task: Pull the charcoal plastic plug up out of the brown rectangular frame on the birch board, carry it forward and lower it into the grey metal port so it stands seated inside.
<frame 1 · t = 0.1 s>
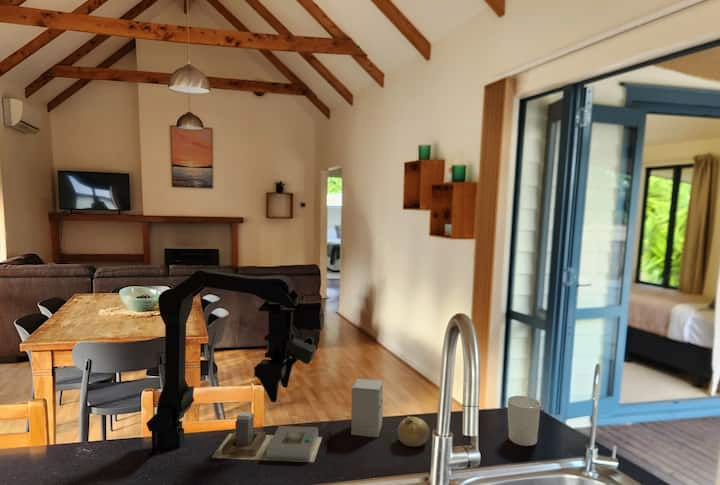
hand: (279, 394, 111), 14 cm above the kitchen counter, tool pointing down, fingers open, 9 cm apart
white cup: (522, 440, 120), on the kitchen counter
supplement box: (367, 430, 125), on the kitchen counter
plug: (244, 445, 114), point 1 cm above the kitchen counter, touching board
port: (293, 451, 113), resting on board
brown rectangular frame: (244, 449, 114), resting on board
onion: (413, 444, 118), on the kitchen counter
board: (269, 450, 113), on the kitchen counter
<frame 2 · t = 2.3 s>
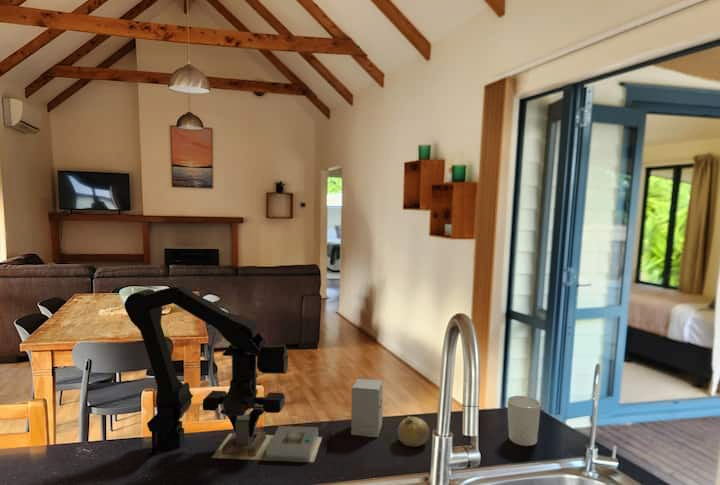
hand: (244, 435, 114), 4 cm above the kitchen counter, tool pointing down, fingers closed on plug, 3 cm apart
plug: (244, 445, 114), point 1 cm above the kitchen counter, touching board, gripper
everything else where it was.
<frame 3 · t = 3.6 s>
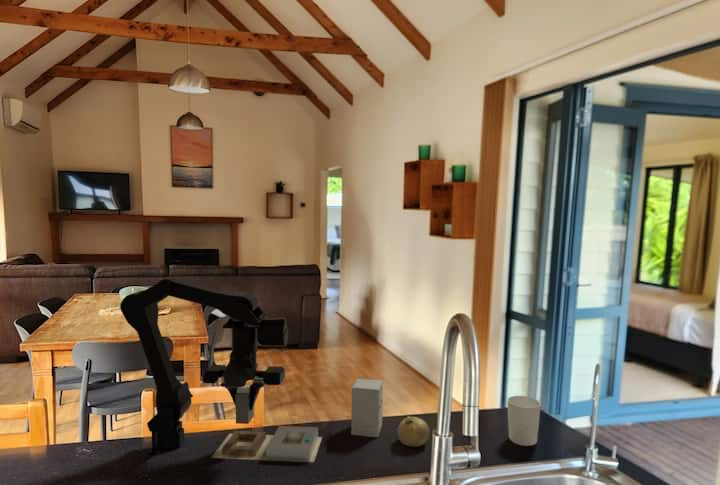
hand: (244, 409, 113), 10 cm above the kitchen counter, tool pointing down, fingers closed on plug, 3 cm apart
plug: (245, 419, 113), point 8 cm above the kitchen counter, touching gripper
everything else where it was.
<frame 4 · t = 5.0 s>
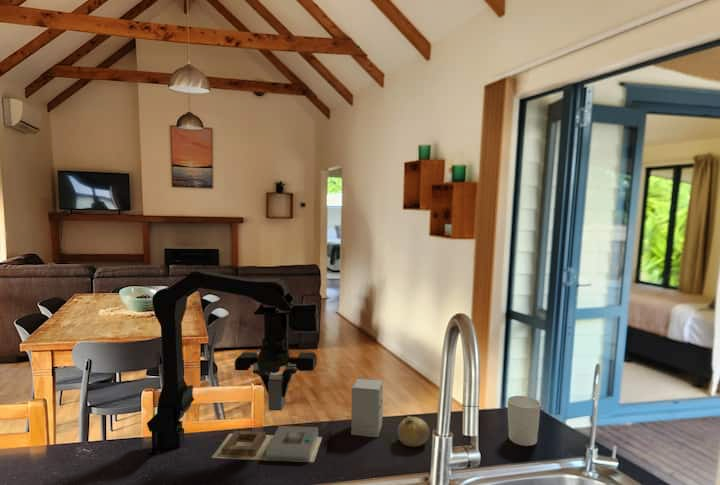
hand: (277, 396, 112), 14 cm above the kitchen counter, tool pointing down, fingers closed on plug, 3 cm apart
plug: (277, 406, 113), point 11 cm above the kitchen counter, touching gripper
everything else where it was.
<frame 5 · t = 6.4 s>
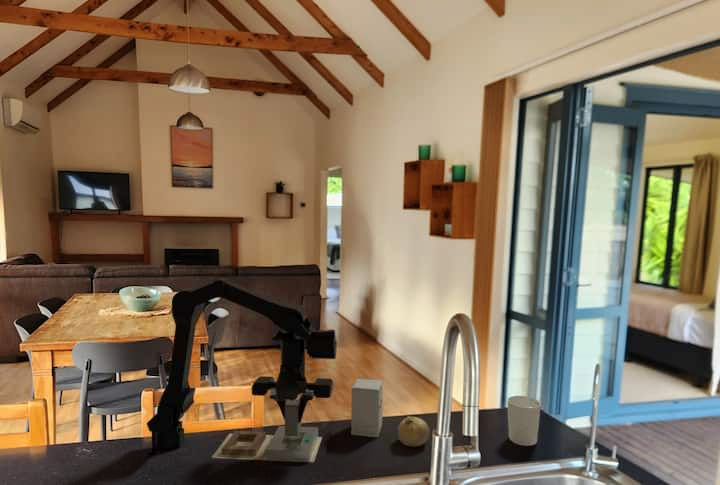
hand: (293, 421, 113), 7 cm above the kitchen counter, tool pointing down, fingers closed on plug, 3 cm apart
plug: (293, 431, 113), point 5 cm above the kitchen counter, touching gripper
everything else where it was.
when the fingers open (4 cm above the kitchen counter, at t = 7.6 s): plug drops 1 cm, resting on board.
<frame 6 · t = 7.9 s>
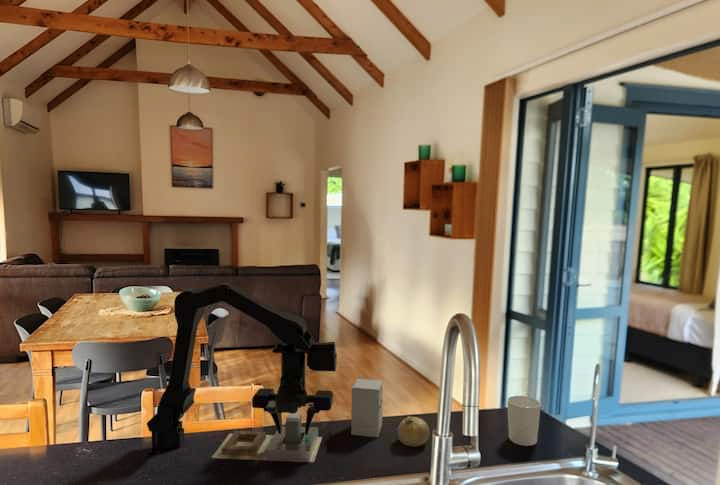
hand: (293, 433, 113), 4 cm above the kitchen counter, tool pointing down, fingers open, 6 cm apart
plug: (293, 447, 113), point 1 cm above the kitchen counter, touching board
everything else where it was.
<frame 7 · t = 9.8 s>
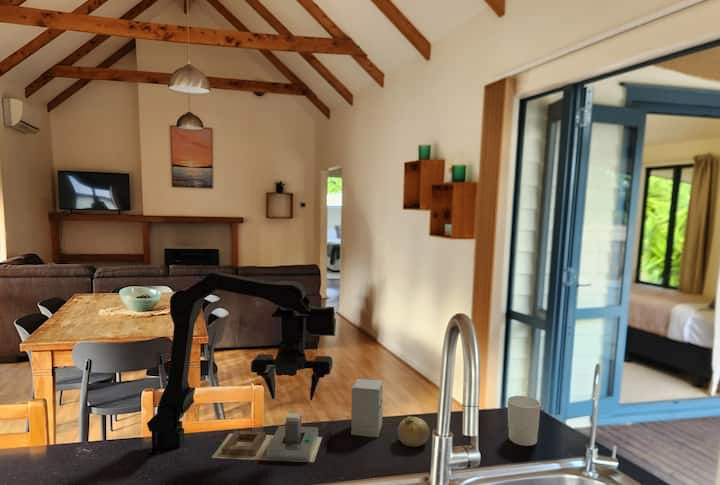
hand: (292, 399, 112), 13 cm above the kitchen counter, tool pointing down, fingers open, 9 cm apart
nothing on the kitchen counter moved.
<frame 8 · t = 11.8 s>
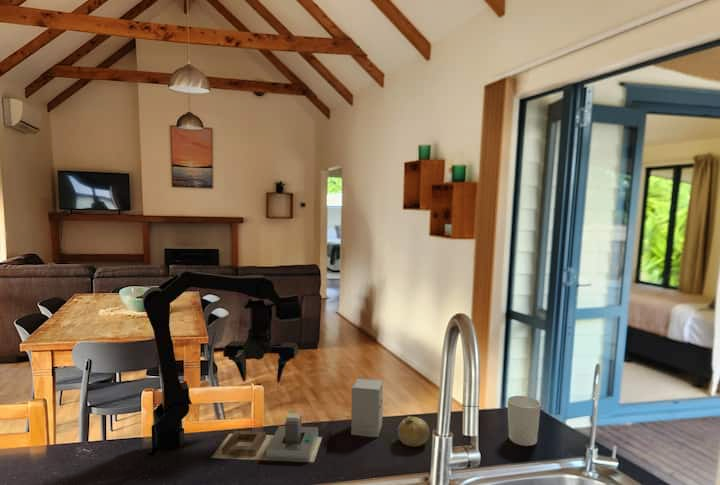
hand: (261, 381, 124), 13 cm above the kitchen counter, tool pointing down, fingers open, 9 cm apart
nothing on the kitchen counter moved.
at the end: plug 0.0 cm off-centre on the port, point 1.0 cm above the port's base; plug tilted 0°; the gripper is holding nothing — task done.
